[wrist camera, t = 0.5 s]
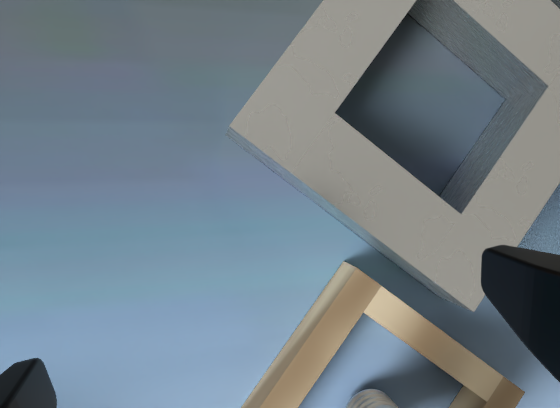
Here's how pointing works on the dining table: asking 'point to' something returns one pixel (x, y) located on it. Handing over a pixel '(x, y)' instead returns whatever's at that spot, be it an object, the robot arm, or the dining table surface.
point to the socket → (389, 174)
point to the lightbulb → (371, 400)
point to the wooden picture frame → (391, 315)
